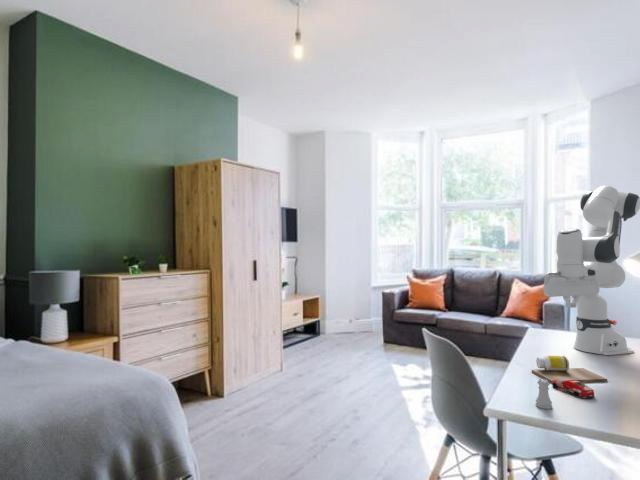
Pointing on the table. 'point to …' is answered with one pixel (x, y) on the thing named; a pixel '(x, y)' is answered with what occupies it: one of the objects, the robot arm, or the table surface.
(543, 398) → the rook chess piece
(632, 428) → the table surface
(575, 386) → the race car
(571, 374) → the walnut board
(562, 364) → the supplement bottle
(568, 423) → the table surface
